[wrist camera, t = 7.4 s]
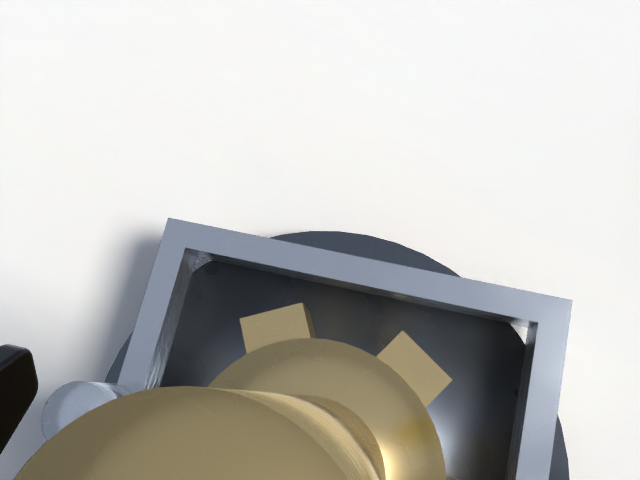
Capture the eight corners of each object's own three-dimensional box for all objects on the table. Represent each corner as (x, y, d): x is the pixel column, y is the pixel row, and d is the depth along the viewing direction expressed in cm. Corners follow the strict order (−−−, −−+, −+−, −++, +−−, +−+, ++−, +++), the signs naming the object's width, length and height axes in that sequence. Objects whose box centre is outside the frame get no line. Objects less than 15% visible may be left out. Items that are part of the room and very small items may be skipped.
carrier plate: (521, 811, 15) (568, 953, 11) (35, 646, 17) (-64, 717, 13) (587, 287, 18) (642, 257, 14) (172, 204, 21) (123, 159, 17)
